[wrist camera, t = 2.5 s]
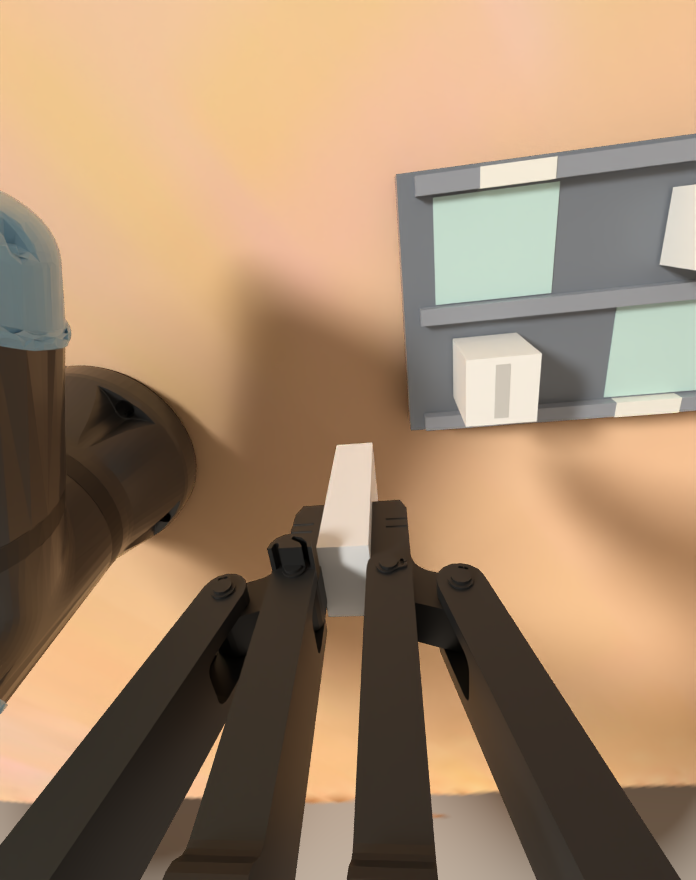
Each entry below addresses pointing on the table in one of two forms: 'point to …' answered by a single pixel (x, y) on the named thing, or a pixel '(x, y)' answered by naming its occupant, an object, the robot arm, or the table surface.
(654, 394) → the switch board
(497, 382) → the tab
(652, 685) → the table surface
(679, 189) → the tab
